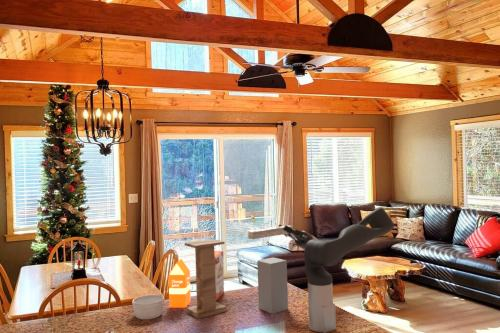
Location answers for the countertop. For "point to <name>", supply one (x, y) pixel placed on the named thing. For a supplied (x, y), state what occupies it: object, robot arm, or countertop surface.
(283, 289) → the plinth
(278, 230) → the bar
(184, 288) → the orange juice
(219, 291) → the cracker box
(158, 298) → the ramekin
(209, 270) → the wooden pedestal
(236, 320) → the countertop surface
